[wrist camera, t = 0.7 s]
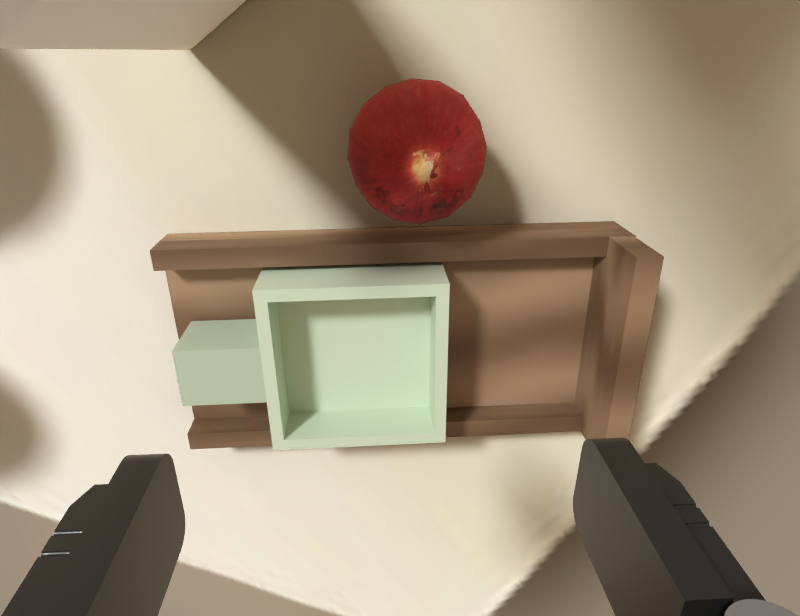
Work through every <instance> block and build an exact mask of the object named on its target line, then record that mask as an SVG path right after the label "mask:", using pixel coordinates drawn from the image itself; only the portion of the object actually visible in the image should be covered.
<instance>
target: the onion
mask: <svg viewBox="0 0 800 616" xmlns="http://www.w3.org/2000/svg"><path fill="white" fill-rule="evenodd" d="M485 153H486V142H485V138H484V135H483V131H482V127H481V123H480V120H479V119H478V117H477V116H476V114H475V113H474V111H473V110H472V108H471V107H470V105H469V103H468V102H467V100H466V99H465V97H464V96H463V95H462V94H460V93H458V92H457V91H455V90H453V89H452V88H450V87H448V86H447V85H445V84H443V83H442V82H440V81H432V80H421V79H410V80H406V81H403V82H400V83H396V84H393V85H390V86H386V87H385V88H383V89H382V90H381V91H380V92H378V93H377V94H376V95H375V96H373V97H372V98H371V99H370V100H368V101H367V102H366V103H365V104H364V105H363V106H362V108H361V110H360V112H359V114H358V116H357V117H356V119H355V121H354V123H353V125H352V127H351V128H350V134H349V147H348V161H349V164H350V167H351V171H352V174H353V177H354V180H355V183H356V185H357V187H358V188H359V190H360V191H361V192H362V194H363V195H364V197H365V198H366V199H367V201H368V202H369V204H370V205H371V206H372V207H373V208H375V209H377V210H378V211H380V212H382V213H383V214H385V215H387V216H388V217H390V218H391V219H393V220H398V221H405V222H412V223H419V224H422V223H425V222H429V221H433V220H436V219H440V218H443V217H447V216H449V215H451V214H452V213H453V212H454V211H455V210H456V209H457V208H459V207H460V206H461V205H462V204H463V203H464V202H466V201H467V200H468V199H469V198H470V197H471V195H472V193H473V191H474V189H475V187H476V185H477V183H478V181H479V179H480V177H481V175H482V173H483V169H484V161H485Z"/></svg>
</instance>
